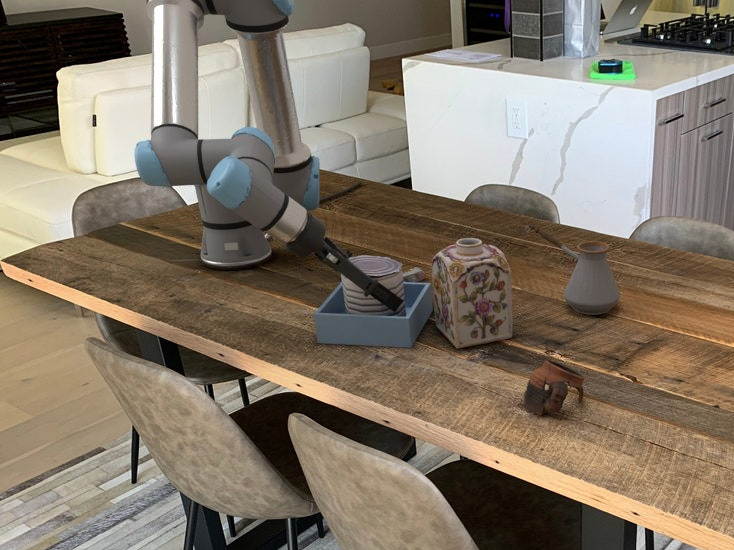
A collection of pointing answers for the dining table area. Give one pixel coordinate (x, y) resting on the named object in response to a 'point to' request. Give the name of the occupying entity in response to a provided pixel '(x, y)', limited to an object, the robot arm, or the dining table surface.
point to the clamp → (413, 275)
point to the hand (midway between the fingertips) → (386, 293)
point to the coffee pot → (588, 277)
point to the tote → (374, 320)
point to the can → (385, 274)
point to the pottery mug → (551, 387)
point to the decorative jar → (472, 293)
